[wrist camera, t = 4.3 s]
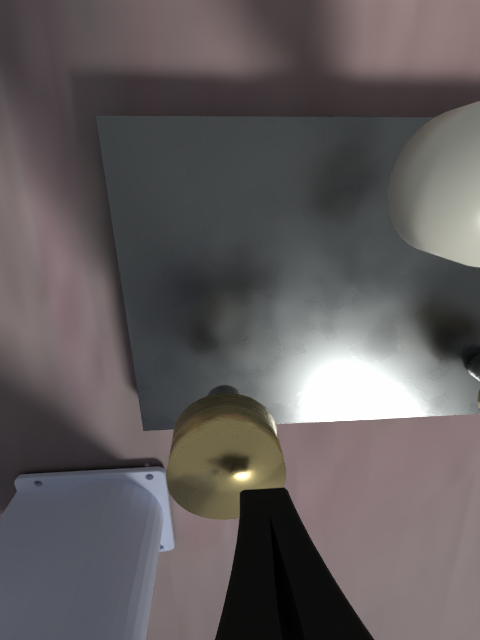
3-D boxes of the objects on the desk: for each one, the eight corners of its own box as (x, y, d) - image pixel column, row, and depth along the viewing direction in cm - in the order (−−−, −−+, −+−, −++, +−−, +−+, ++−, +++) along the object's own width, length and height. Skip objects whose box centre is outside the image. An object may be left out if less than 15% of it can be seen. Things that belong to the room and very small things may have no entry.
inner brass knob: (183, 436, 16) (171, 523, 12) (176, 363, 14) (160, 434, 10) (266, 432, 16) (283, 515, 12) (268, 359, 14) (289, 427, 10)
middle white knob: (350, 242, 12) (412, 269, 9) (364, 121, 11) (448, 85, 7) (450, 240, 13) (556, 265, 9) (479, 121, 11) (622, 87, 7)
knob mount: (150, 408, 20) (143, 430, 18) (111, 124, 14) (95, 115, 12) (508, 391, 21) (535, 410, 19) (606, 125, 16) (658, 118, 14)
